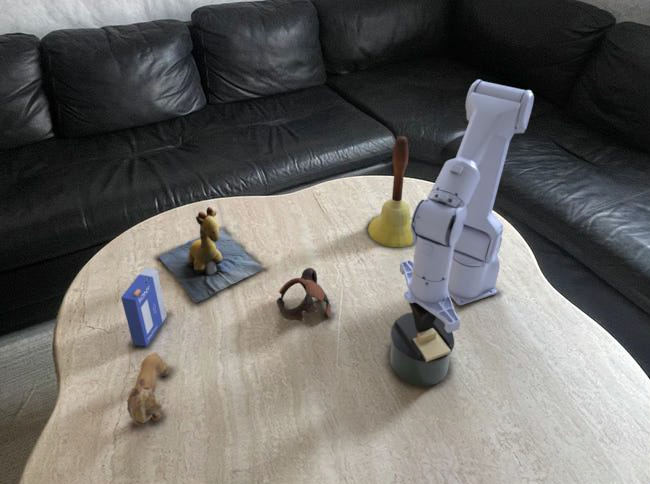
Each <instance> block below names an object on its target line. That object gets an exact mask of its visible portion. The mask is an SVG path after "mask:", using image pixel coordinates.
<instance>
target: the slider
mask: <svg viewBox="0 0 650 484" xmlns="http://www.w3.org/2000/svg"><path fill="white" fill-rule="evenodd" d="M412 341H413V342H414V344H415V345H416V346H417V348H418V349H419V351H420V352H421V354H422V356H423V358H424V359H425V361H426V362H428V361H430V360H433V359H436V358H439V357H441V356H444V355H447V354H449V353H451V354H452V352H451V350H450V349H449V347H448V346H447V345H446V344H445V342H444V341H443V340H442V338H441V337H440V336H439V334H438V333H437V332H436V331H435V330H434V329H433V328H431V329H428V330H426V331H423V332H420V333H418V336H417V338H415V339H413V340H412Z"/></svg>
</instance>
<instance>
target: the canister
mask: <svg viewBox="0 0 650 484" xmlns="http://www.w3.org/2000/svg"><path fill="white" fill-rule="evenodd" d="M431 328H433V329H434V330H435V331H436V332H437V333H438V334H439V336H440V337H441V338H442V340H443V341H444V342H445V344H446V345H447V346H448V347H449V349H450V350H451V353H449V354H447V355H444V356H441V357H439V358H436V359H433V360H430V361H428V362H426V361H425V359H424V358H423V356H422V354H421V352H420V351H419V349H418V348H417V346H416V345H415V344H414V342H413V341H412V340H413V339H415V338H417V336H418V331H417V330H416V327H415V322H414V317H413V313H412V311H411V312H406V313H404V314H402V315H400V316H399V317H398V318H396V319H395V320H394V322H393V324H392V325H391V328H390V340H391V345H390V346H391V347H390V353H389V354H390V355H389V360H390V361H389V362H390V365H391V368H392V370H393V372H394V373H395V374H396V375H397V377H399V378H400V379H401V380H402V381H404V382H406V383H408V384H410V385H412V386H416V387H430V386H434V385H436V384H438V383H440V382H441V381H442V380H444V378H445V377H446V376H447V373H448V371H449V369H448V368H449V364H450V358H451V355H452V353H453V350H454V348H455V347H454V346H455V336H454V333H453V332H450V333H447V331H446V330H445V329H444V328H445V323H444V322H443V321H442V320H440V319H439V318H438V317H437V318H436V320H435V321H434V323H433V324H432V326H431ZM431 328H430V329H431Z"/></svg>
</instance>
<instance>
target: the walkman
mask: <svg viewBox="0 0 650 484" xmlns="http://www.w3.org/2000/svg"><path fill="white" fill-rule="evenodd" d="M159 275H160V274H159V271H158V270H157V269H152V268H151V267H143V269H142V270H141V271H140V273H139V274H138V276H136V278H135V279H134V280H133V281H132V282H131V284H130V285H129V287H128V288H127V289H126V290H125V291H124V293H123V294H122V296H121V297H120V299H121V302H122V307H123V310H124V313H125V318H126V322H127V326H128V329H129V333H130V338H131V340H132V344H133V345H135V346H136V345H137V346H140V347H146V348H147V347H148V345H149V344H150V342H151V341H152V340H153V338H154V336H155V335H156V333H157V332H158V330H159V329H160V327H161V326H162V325H163V323H164V321H165V320H166V318H167V316H168V314H167V309H166V305H165V301H164V295H163V291H162V285H161V282H160V276H159Z"/></svg>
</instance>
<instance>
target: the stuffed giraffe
mask: <svg viewBox="0 0 650 484" xmlns="http://www.w3.org/2000/svg"><path fill="white" fill-rule="evenodd" d="M205 212H206V213H205ZM205 212H204V211H199V212H198V214H197V216H195V220H196V222H197V224H198V225H199V237H198V238H195V239H192V240H190V241H188V242H186V243H184V244H182V245H179V246H177V247H175V249H173V250H169V251H167V252H165V253H164V254H161V255H158V256H157V257H158V259H160V261H161V262H162V263H163V264H164V266H166V267H167V269H168V270H169V271H170V272H171V274H173V275H174V277H175V278H176V280H177V281H178V282H179V284H180V285H181V286H182V287H183V289H184V290H185V291H186V293H187V294H188V295H189V297H190V298H191V299H192V301H193V302H194V303H195V304H198V303H200V302H201V301H204V300H207V299H208V298H210V297H212V296H214V295H215V293H216V292H220V291H222V290H224V289H226V288H228V287H230V286H231V285H232V284H235V283H239V282H240V281H242V280H244V279H246V278H248V277H251V276H253V275H255V274H258V273H259V272H260V271H262V270H263V269H264V267H263V266H262V264H260V263H258V262H257V261H255V260H254V258H253V257H252V256H251V255H250V254H249V253H248V252H247V250H246V249H245V248H244V247H242V246H241V245H240V244H239V243H238V242H237V241H236V240H235V239H234V238H233V237H232V236H231V235H230V234H228V233H227V232H226V231H225V229H223V228H220V227H219V224H218V221H217V220H216V218H215V217H216V215H217V210H216V209H215V210H213V208H212V207H211V206H207V208H206V211H205Z"/></svg>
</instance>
